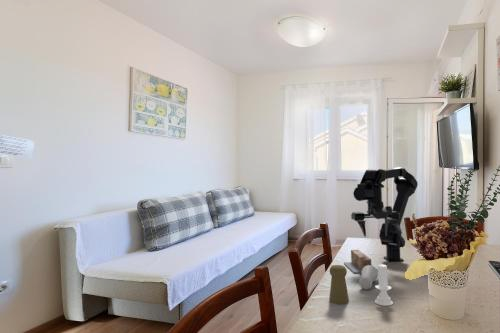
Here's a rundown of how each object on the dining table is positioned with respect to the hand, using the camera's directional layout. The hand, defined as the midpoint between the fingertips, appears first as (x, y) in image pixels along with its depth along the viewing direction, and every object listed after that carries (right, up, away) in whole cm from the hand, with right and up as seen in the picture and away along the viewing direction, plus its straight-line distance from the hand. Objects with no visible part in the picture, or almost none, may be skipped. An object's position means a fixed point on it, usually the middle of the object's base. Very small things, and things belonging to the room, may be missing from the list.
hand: (375, 236), depth 153 cm
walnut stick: (-8, -12, -4) cm, 15 cm away
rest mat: (-7, -12, -4) cm, 15 cm away
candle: (-12, -13, -41) cm, 45 cm away
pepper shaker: (-25, -13, -38) cm, 48 cm away
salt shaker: (-8, -9, -19) cm, 22 cm away
